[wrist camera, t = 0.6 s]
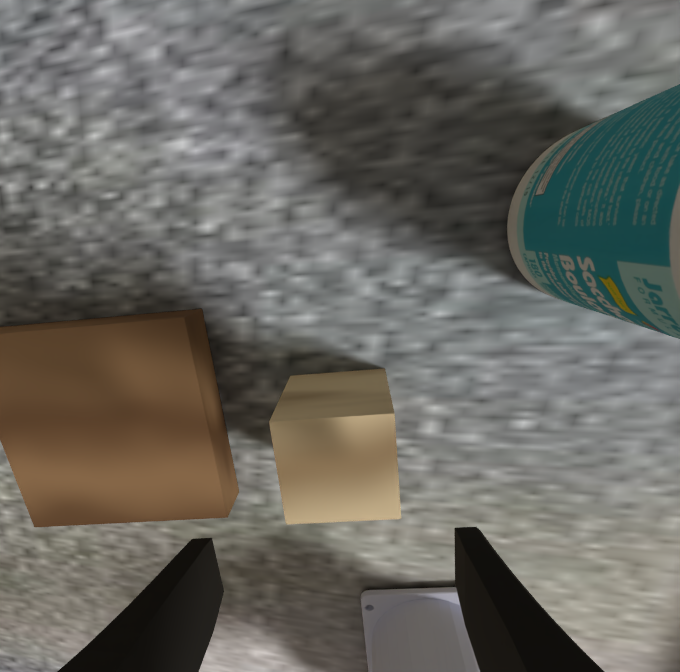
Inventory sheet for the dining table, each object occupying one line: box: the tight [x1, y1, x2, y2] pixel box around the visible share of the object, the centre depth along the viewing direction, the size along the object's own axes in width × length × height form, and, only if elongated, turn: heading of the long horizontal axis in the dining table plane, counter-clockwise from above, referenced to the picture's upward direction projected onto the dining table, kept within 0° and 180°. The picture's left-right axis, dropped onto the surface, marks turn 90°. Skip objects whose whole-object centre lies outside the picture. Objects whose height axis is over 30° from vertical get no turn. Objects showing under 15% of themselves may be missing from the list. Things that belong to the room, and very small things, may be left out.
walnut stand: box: [0, 309, 239, 527], centre depth 19 cm, size 11×11×2 cm
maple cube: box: [269, 369, 401, 524], centre depth 17 cm, size 5×5×5 cm
